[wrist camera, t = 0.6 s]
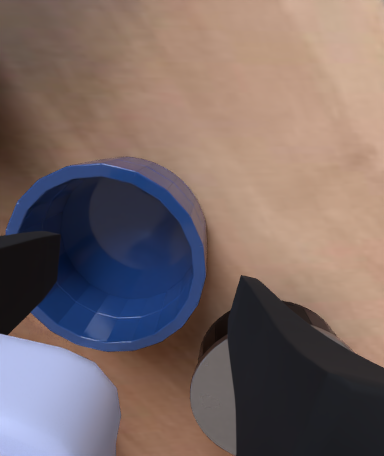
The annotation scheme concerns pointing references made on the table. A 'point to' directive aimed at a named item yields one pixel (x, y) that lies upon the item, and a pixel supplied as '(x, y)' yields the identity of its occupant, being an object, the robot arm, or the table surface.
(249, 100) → the table surface
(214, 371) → the lid
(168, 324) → the pot
